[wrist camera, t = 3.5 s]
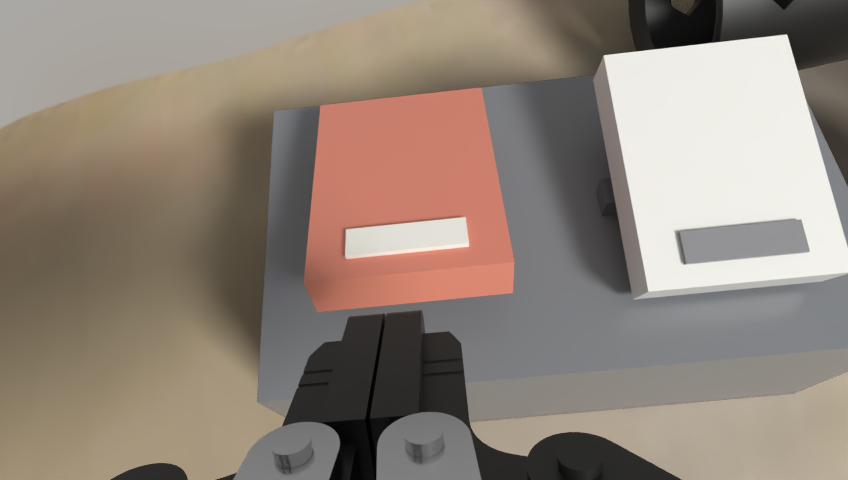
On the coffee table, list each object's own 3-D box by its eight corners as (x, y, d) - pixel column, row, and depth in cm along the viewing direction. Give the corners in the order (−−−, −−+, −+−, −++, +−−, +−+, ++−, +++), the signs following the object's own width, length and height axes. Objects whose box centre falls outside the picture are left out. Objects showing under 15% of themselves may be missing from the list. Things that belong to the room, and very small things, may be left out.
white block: (633, 299, 19) (649, 290, 17) (593, 80, 21) (604, 52, 19) (821, 281, 18) (858, 270, 17) (762, 61, 20) (789, 31, 19)
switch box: (317, 435, 26) (247, 396, 18) (320, 205, 31) (266, 96, 23) (793, 393, 25) (943, 332, 17) (711, 164, 30) (795, 36, 22)
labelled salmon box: (317, 312, 17) (302, 279, 16) (330, 138, 22) (319, 101, 21) (513, 293, 17) (514, 258, 16) (482, 121, 22) (481, 83, 21)
